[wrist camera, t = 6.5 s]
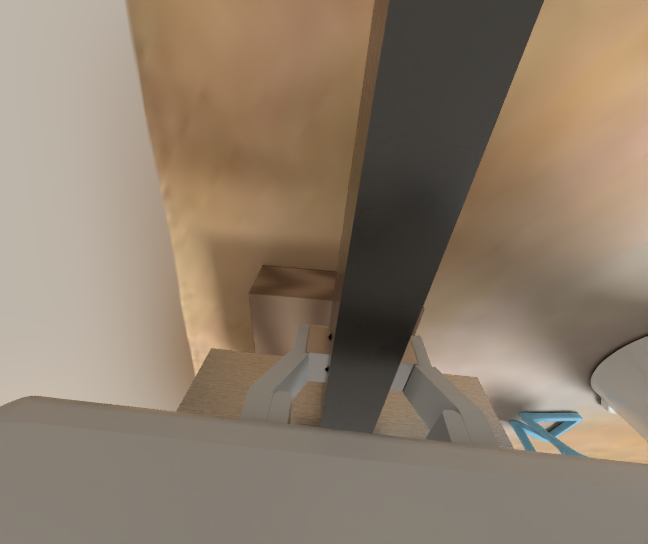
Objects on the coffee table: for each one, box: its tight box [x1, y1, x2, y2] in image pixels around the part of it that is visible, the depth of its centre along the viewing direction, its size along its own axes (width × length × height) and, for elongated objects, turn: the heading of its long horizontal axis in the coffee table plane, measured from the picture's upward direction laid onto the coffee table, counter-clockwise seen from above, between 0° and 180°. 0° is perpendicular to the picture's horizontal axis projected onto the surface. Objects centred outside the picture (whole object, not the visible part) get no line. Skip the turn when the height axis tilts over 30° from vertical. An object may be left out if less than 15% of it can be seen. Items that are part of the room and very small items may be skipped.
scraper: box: [176, 0, 544, 449], centre depth 9 cm, size 18×16×4 cm
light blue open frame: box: [510, 412, 589, 458], centre depth 35 cm, size 8×8×12 cm
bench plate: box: [249, 266, 424, 356], centre depth 29 cm, size 16×16×5 cm
